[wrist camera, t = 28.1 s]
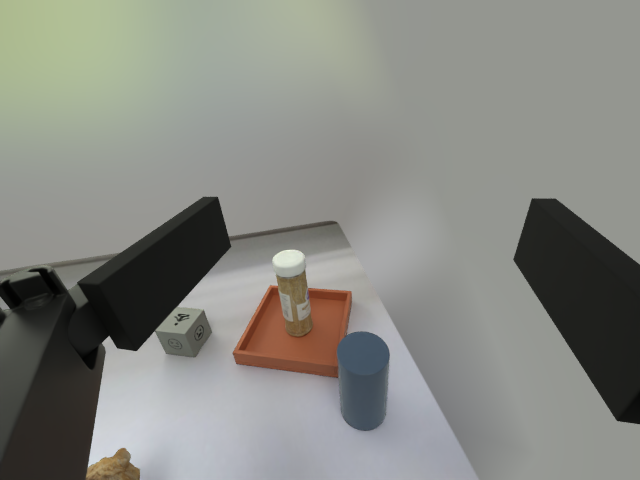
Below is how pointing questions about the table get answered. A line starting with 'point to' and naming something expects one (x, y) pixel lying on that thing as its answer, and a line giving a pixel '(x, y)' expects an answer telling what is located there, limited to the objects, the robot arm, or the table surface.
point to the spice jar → (293, 291)
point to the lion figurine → (114, 468)
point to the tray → (290, 351)
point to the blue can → (363, 379)
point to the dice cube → (184, 331)
